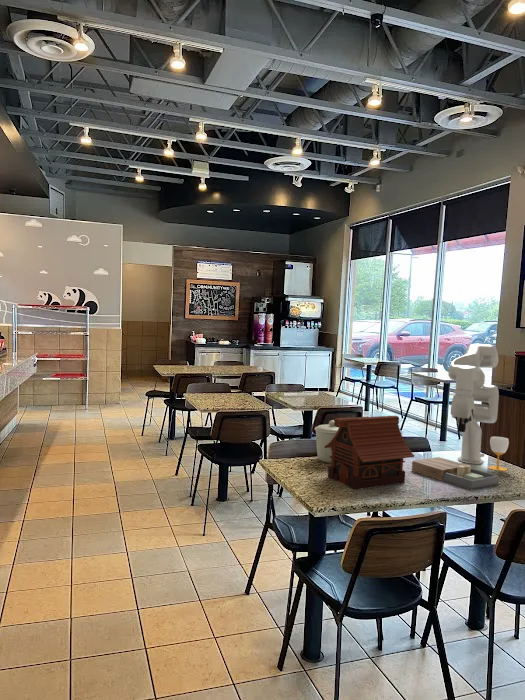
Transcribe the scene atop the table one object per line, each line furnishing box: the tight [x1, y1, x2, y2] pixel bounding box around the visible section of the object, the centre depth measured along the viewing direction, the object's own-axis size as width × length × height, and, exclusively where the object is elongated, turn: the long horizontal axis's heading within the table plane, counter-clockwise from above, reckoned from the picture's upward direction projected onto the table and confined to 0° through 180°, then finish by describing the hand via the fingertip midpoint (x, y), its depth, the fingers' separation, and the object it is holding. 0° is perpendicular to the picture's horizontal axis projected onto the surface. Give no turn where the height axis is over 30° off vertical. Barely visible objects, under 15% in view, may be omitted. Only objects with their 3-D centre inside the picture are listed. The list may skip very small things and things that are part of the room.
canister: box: [314, 419, 339, 464], centre depth 269 cm, size 18×18×21 cm
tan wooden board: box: [411, 456, 467, 482], centre depth 254 cm, size 20×18×5 cm
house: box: [324, 415, 415, 490], centre depth 236 cm, size 35×28×29 cm
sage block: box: [464, 473, 484, 480], centre depth 239 cm, size 6×6×3 cm
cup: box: [487, 435, 510, 472], centre depth 268 cm, size 9×9×16 cm
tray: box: [442, 467, 500, 491], centre depth 240 cm, size 20×15×4 cm
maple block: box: [457, 464, 472, 478], centre depth 243 cm, size 6×6×3 cm
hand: (461, 431), depth 245 cm, fingers closed
